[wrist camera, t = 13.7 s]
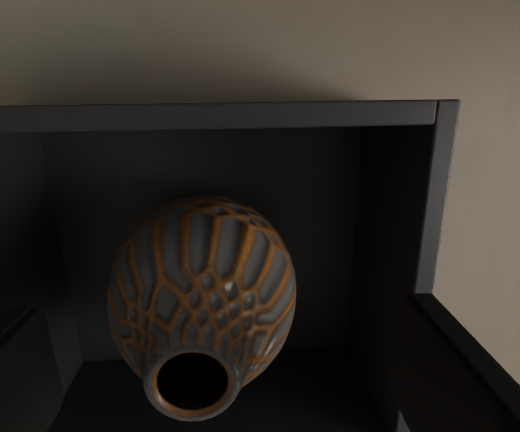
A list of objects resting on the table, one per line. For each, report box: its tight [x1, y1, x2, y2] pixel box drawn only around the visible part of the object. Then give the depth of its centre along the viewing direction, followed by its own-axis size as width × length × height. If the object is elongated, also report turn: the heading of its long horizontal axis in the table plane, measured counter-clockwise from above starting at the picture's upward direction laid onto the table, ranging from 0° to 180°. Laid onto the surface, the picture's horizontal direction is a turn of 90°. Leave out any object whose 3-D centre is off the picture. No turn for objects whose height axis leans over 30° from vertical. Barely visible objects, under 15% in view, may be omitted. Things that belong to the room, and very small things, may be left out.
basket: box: [0, 99, 460, 432], centre depth 15 cm, size 15×13×6 cm
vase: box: [107, 195, 296, 421], centre depth 13 cm, size 7×7×9 cm
